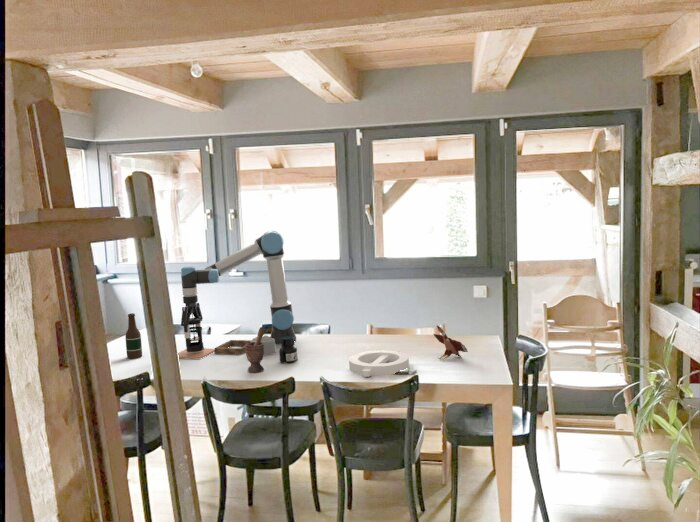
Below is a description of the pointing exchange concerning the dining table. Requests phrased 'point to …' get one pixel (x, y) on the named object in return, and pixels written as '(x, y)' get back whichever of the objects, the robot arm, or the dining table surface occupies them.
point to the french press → (194, 345)
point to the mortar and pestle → (255, 353)
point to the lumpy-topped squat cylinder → (267, 344)
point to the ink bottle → (288, 350)
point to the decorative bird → (449, 344)
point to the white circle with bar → (378, 363)
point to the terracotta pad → (195, 353)
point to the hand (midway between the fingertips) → (193, 335)
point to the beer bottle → (133, 339)
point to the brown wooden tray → (226, 350)
